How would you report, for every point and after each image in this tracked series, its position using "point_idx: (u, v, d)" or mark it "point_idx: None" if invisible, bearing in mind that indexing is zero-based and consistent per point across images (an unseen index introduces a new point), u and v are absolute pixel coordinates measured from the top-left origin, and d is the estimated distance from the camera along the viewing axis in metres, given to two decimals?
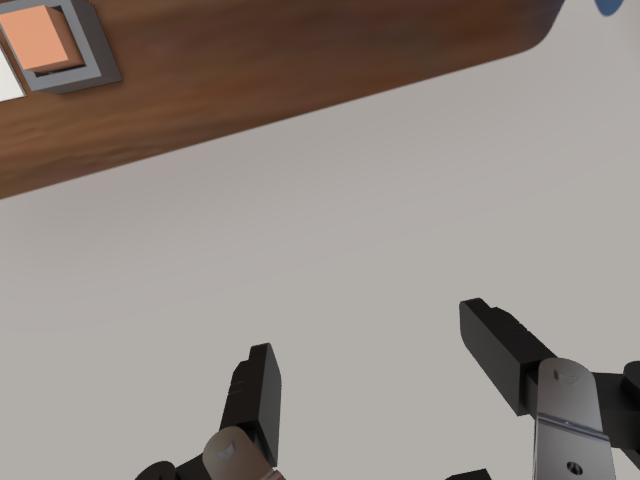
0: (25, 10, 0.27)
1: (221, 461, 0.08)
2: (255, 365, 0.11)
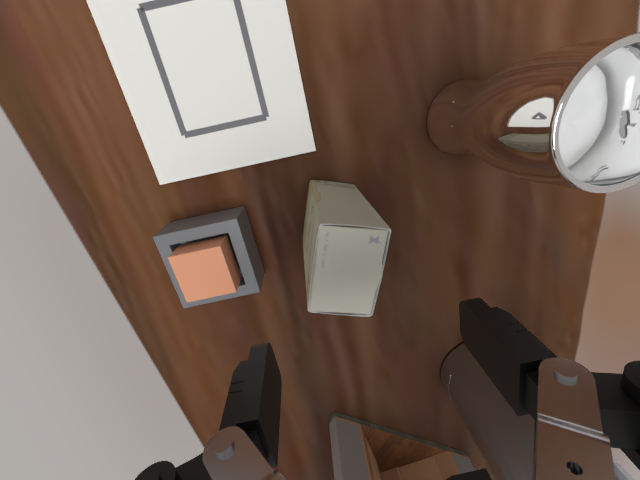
0: (228, 274, 0.25)
1: (221, 461, 0.08)
2: (255, 365, 0.11)
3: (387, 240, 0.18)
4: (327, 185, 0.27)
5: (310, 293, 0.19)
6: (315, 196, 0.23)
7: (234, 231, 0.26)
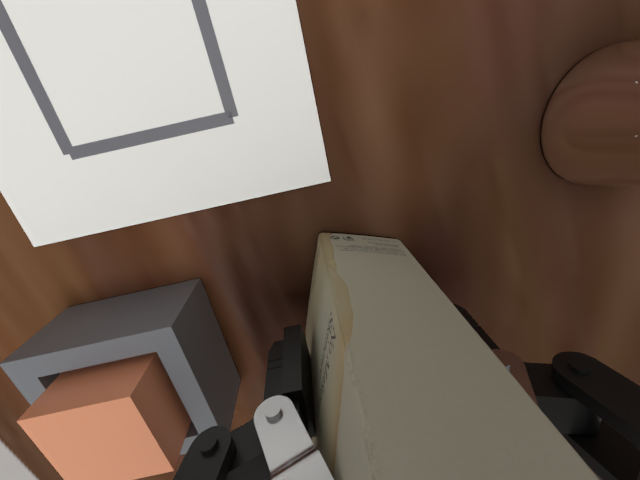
0: (154, 443, 0.12)
1: (273, 424, 0.09)
2: (291, 343, 0.12)
3: None
4: (354, 251, 0.14)
5: None
6: (338, 302, 0.10)
7: (168, 349, 0.13)
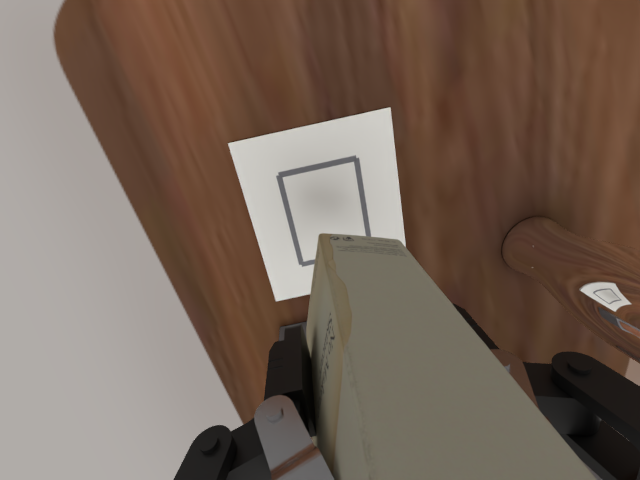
0: None
1: (273, 424, 0.09)
2: (291, 343, 0.12)
3: None
4: (354, 251, 0.14)
5: None
6: (337, 303, 0.10)
7: None
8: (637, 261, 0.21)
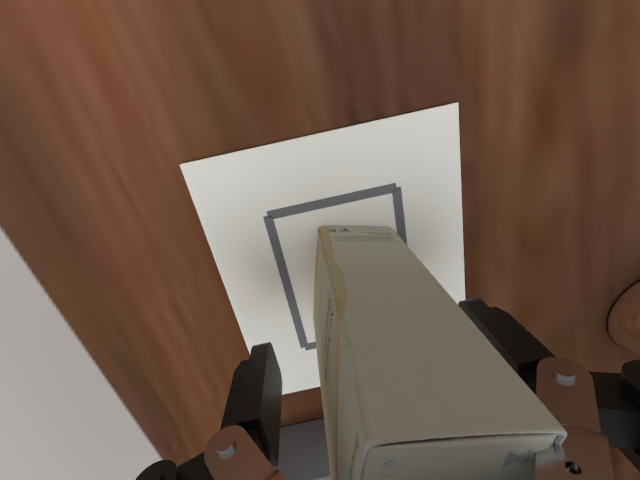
0: None
1: (223, 460, 0.08)
2: (256, 364, 0.11)
3: None
4: (350, 240, 0.15)
5: None
6: (334, 284, 0.11)
7: None
8: None
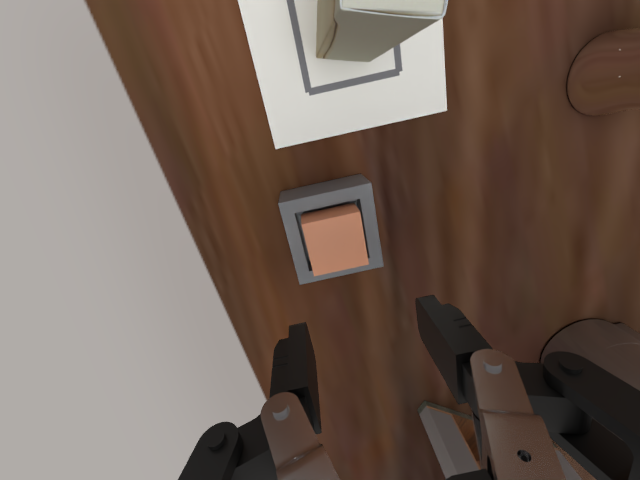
0: (364, 244, 0.23)
1: (280, 421, 0.09)
2: (296, 341, 0.12)
3: None
4: None
5: None
6: None
7: (366, 197, 0.23)
8: None
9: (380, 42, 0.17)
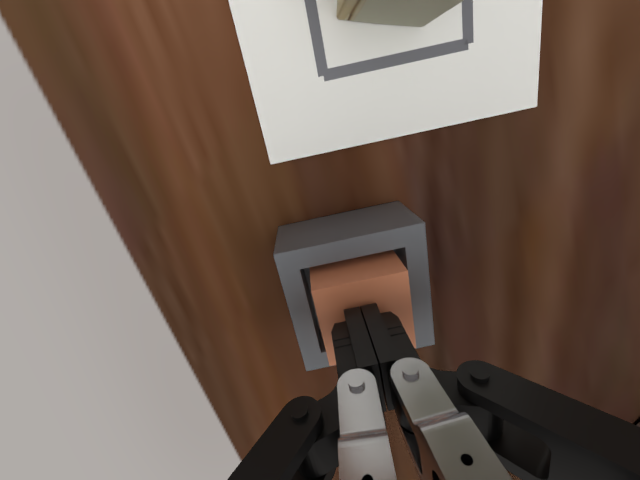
0: (411, 319, 0.14)
1: (359, 395, 0.09)
2: (355, 323, 0.12)
3: None
4: None
5: None
6: None
7: (416, 245, 0.14)
8: None
9: None
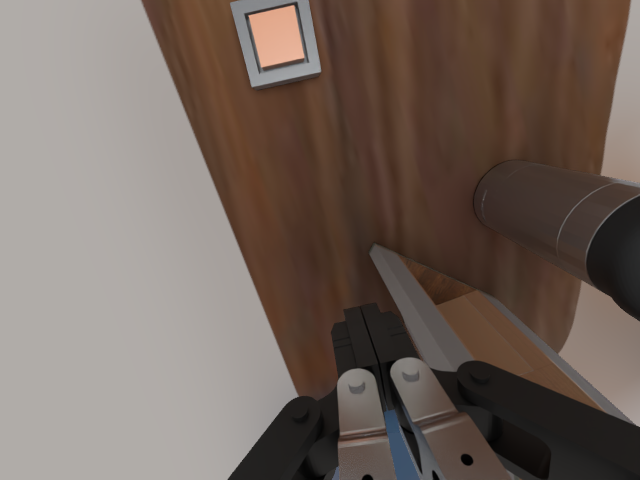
0: (299, 37, 0.29)
1: (359, 394, 0.09)
2: (355, 323, 0.12)
3: None
4: None
5: None
6: None
7: (302, 0, 0.29)
8: None
9: None
